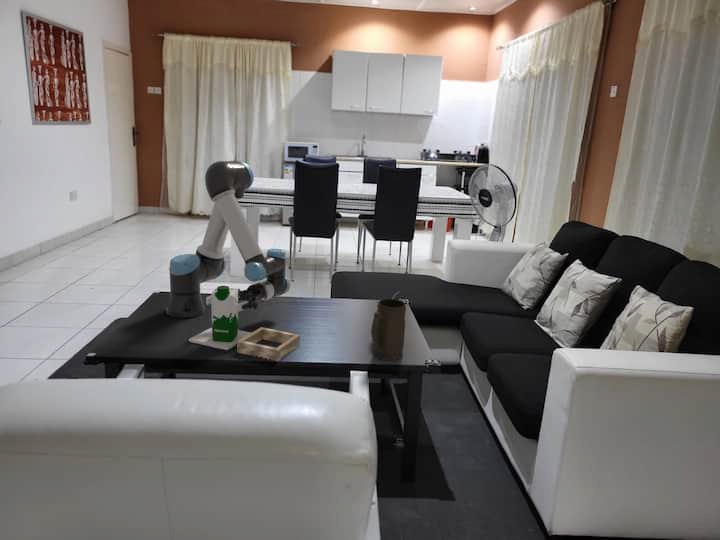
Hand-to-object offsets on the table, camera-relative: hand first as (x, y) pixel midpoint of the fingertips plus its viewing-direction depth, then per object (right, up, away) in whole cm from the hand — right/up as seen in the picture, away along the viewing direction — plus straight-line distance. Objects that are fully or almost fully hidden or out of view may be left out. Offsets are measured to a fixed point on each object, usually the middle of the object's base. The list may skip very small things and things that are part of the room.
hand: (220, 305), depth 189 cm
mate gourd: (+61, -10, +31) cm, 70 cm away
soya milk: (+1, -12, +2) cm, 12 cm away
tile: (-1, -13, +4) cm, 13 cm away
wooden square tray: (+18, -15, -3) cm, 24 cm away
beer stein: (+59, -18, -3) cm, 62 cm away
